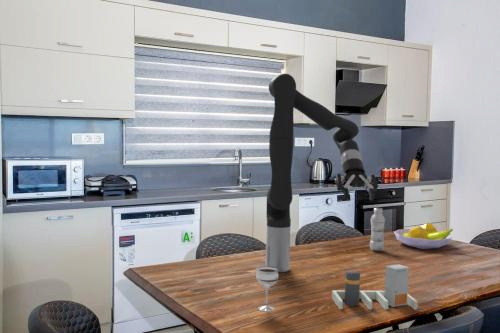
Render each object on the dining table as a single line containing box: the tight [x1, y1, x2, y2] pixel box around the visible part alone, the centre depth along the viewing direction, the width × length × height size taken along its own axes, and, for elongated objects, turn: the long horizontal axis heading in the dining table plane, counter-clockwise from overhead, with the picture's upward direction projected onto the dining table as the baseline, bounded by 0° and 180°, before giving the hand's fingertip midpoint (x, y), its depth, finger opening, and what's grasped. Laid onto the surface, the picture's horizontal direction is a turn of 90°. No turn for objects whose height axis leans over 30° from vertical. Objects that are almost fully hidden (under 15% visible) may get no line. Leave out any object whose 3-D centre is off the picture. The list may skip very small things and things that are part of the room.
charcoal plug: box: [343, 270, 361, 307], centre depth 144 cm, size 5×5×10 cm
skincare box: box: [383, 264, 410, 308], centre depth 145 cm, size 6×4×12 cm
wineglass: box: [255, 265, 280, 313], centre depth 139 cm, size 7×7×12 cm
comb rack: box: [331, 289, 418, 311], centre depth 145 cm, size 24×10×2 cm, turn 93°
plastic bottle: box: [369, 207, 386, 252], centre depth 216 cm, size 6×7×20 cm
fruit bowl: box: [393, 222, 454, 250], centre depth 228 cm, size 28×27×11 cm
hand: (360, 199), depth 162 cm, fingers open, 8 cm apart
